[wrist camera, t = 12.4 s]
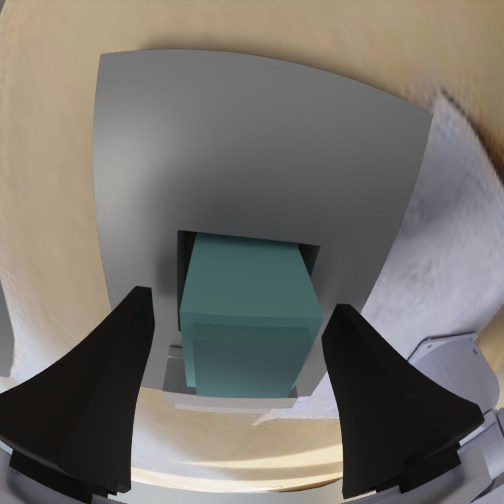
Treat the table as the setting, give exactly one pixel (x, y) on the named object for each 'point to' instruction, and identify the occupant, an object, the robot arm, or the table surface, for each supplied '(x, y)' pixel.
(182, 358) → the white stepped block
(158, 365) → the socket plate
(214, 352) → the plug
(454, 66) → the table surface
